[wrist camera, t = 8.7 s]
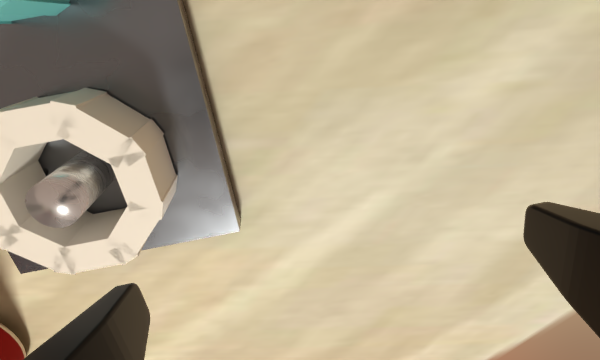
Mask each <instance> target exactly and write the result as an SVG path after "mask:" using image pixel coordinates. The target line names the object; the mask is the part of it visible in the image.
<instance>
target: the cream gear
mask: <svg viewBox="0 0 600 360" xmlns="http://www.w3.org/2000/svg"><path fill="white" fill-rule="evenodd" d="M163 135H164V133H163V132H162V131H161V129H160V128H159V127H158V126H157V124H156V123H155V122H154V121H153V120H152V118H151V119H149V118H147V117H145V116H143V115H142V114H140V113H138V112H137V111H135V110H133V109H132V108H130V107H128V106H127V105H125V104H123V103H122V102H120V101H118V100H117V99H115V98H113V97H111V96H110V95H108V94H107V92H105V91H100V90H95V89H90V88H83V89H80V90H77V91H74V92H68V93H63V94H58V95H52V96H47V97H41V98H38V97H34V98H31V99H28V100H25V101H22V102H19V103H16V104H13V105H10V106H7V107H4V108H1V109H0V248H1V249H2V250H7V251H9V252H12V253H14V254H16V255H19V256H21V257H23V258H26V259H28V260H30V261H33V262H35V263H37V264H40V265H42V266H44V267H47V268H49V269H52V270H54V272H58V273H66V274H75V275H76V273H78V272H83V271H89V270H94V269H99V268H104V267H109V266H114V265H120V264H122V265H124V264H126V263H127V262H129V261H131V260H132V259H134V258H135V257H137V256H138V255H139V254H140V252H141V250H142V248H143V246H144V244H145V242H146V240H147V238H148V237H149V235H150V233H151V232H152V230H153V229H154V227H155V226H156V224H157V223H158V221H159V220H162V218H163V216H164V214H165V212H166V210H167V208H168V206H169V204H170V202H171V200H172V198H173V196H174V194H175V192H176V186H177V177H178V175H176V173H175V170H174V167H173V164H172V161H171V158H170V155H169V152H168V149H167V146H166V143H165V140H164V137H163ZM61 139H64V140H66V141H68V142H70V143H72V144H74V145H75V146H77V147H79V148H81V149H83V150H85V151H87V152H88V153H90V154H92V155H94V156H96V157H98V158H100V159H102V160H103V161H105V162H107V163H109V164H111V166H112V168H113V171H114V173H115V176H116V178H117V181H118V183H119V186H120V188H121V191H122V193H123V196H124V198H125V201H126V203H127V205H128V206H127V208H123V209H117V210H112V211H107V212H102V213H96V214H92V213H90V212H88V211H85V212H84V213H83V214H82V215H81V217H80V218H79V219H78V220H77V221H76V222H75V223H74V224H72V225H70V226H68V227H64V228H53V227H49V226H46V225H43V224H41V223H39V222H38V221H37V220H35V219H34V218H33V217H32V216H31V215H30V213H29V212H28V210H27V208H26V204H25V197H26V194H27V192H28V190H29V189H30V188H31V187H33V186H34V185H35V184H37V183H38V182H40V181H41V180H42V179H44V178H45V177H46V175H45V173H44V171H43V169H42V167H41V165H40V163H39V161H38V160H39V158H40V156H41V154H42V152H43V150H44V148H45V145H46V143H47V142H51V141H56V140H61Z"/></svg>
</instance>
